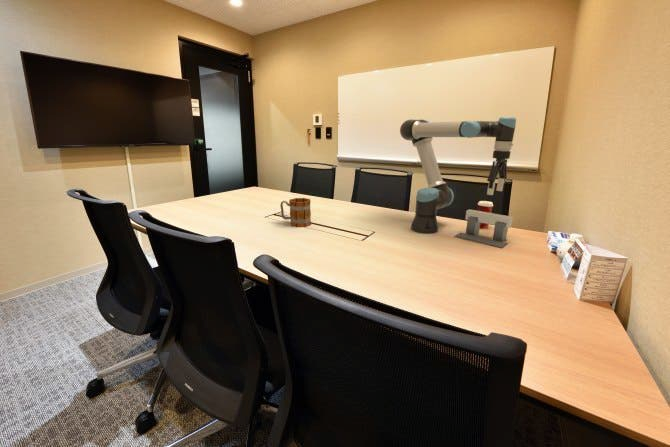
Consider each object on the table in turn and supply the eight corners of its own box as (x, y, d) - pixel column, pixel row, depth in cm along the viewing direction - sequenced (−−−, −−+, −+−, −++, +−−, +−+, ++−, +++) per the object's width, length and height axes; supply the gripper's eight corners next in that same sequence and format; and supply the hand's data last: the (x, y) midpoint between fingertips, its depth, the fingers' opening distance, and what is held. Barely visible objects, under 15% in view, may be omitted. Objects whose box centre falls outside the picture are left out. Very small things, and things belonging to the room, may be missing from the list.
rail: (465, 219, 171) (466, 210, 169) (468, 218, 173) (469, 209, 172) (508, 228, 156) (510, 218, 154) (511, 226, 159) (512, 216, 157)
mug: (314, 222, 195) (314, 198, 190) (307, 228, 182) (306, 203, 178) (286, 219, 200) (285, 196, 196) (276, 225, 188) (275, 201, 183)
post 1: (465, 234, 171) (467, 217, 168) (470, 231, 176) (473, 214, 173) (473, 236, 168) (476, 218, 165) (478, 233, 173) (481, 216, 170)
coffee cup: (491, 229, 179) (495, 204, 175) (476, 228, 181) (479, 203, 176) (487, 225, 187) (491, 200, 183) (473, 224, 189) (476, 200, 184)
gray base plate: (454, 236, 167) (454, 235, 167) (460, 233, 173) (460, 232, 173) (501, 248, 151) (502, 247, 151) (507, 244, 157) (507, 243, 156)
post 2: (492, 240, 161) (495, 222, 158) (497, 237, 166) (499, 219, 163) (501, 242, 158) (504, 224, 156) (506, 239, 163) (509, 221, 160)
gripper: (501, 152, 142) (493, 197, 148) (518, 149, 159) (510, 190, 165) (484, 151, 147) (477, 195, 153) (502, 148, 164) (495, 188, 170)
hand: (494, 192), depth 159 cm, fingers open, 13 cm apart
